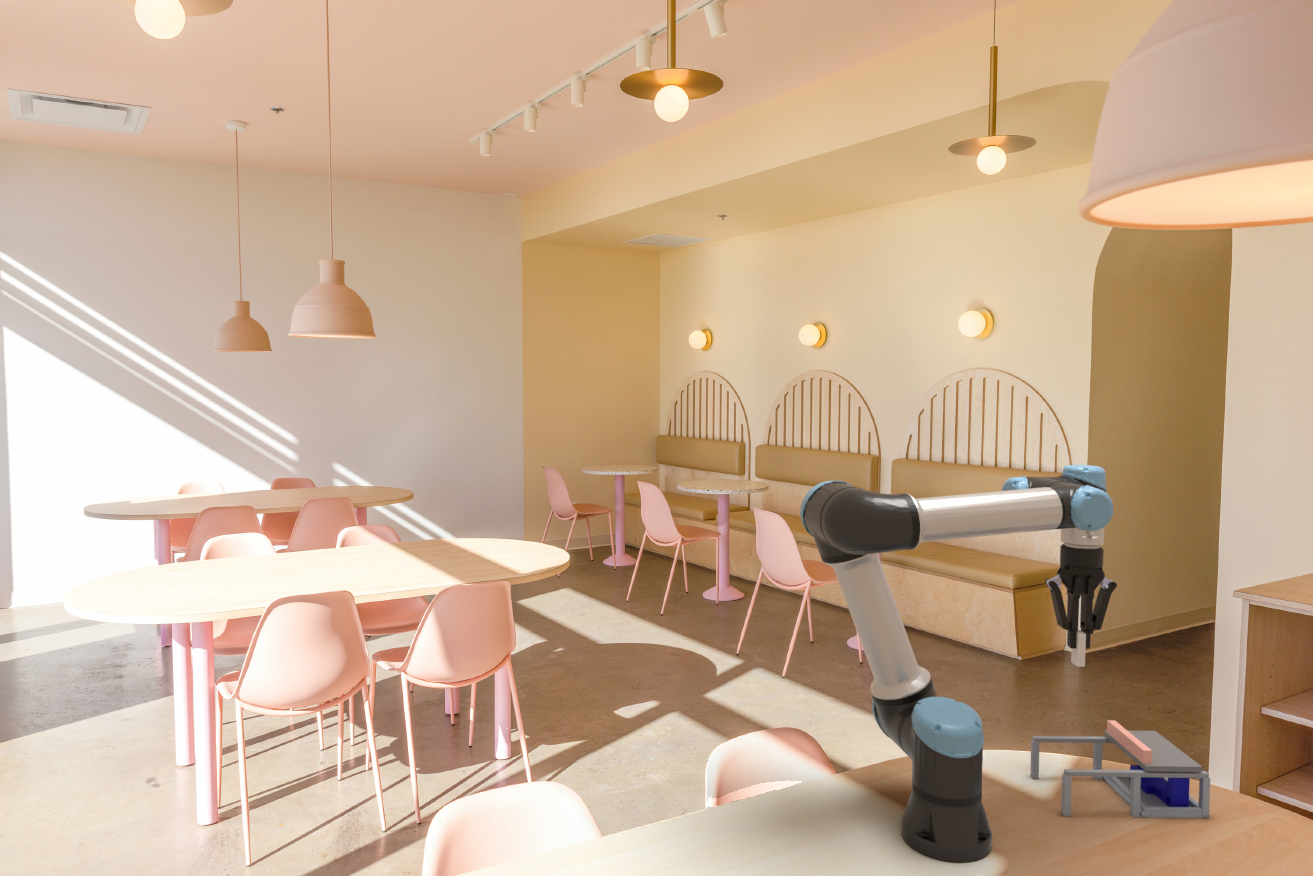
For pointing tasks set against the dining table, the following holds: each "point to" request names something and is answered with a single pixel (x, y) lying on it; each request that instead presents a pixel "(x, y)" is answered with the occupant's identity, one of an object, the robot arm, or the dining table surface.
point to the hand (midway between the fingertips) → (1077, 664)
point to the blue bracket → (1166, 789)
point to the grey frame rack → (1125, 782)
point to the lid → (1150, 750)
